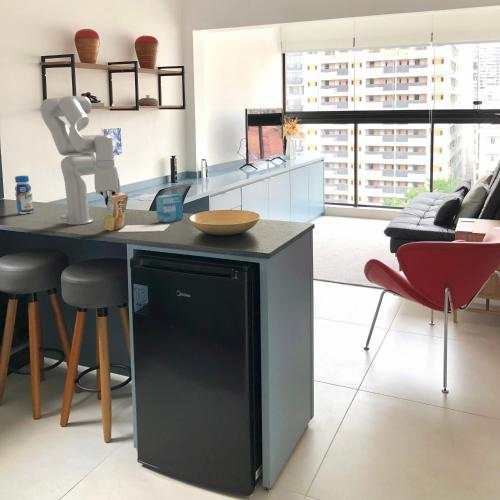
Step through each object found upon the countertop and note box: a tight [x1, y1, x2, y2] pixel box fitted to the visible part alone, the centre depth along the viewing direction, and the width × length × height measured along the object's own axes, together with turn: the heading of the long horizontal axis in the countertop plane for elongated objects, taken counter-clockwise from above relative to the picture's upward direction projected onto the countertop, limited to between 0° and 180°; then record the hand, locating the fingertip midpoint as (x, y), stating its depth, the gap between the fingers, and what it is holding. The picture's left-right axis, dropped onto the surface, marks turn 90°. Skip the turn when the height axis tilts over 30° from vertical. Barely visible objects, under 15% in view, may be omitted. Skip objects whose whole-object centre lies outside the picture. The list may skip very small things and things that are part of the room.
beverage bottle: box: [14, 175, 35, 213], centre depth 316 cm, size 8×8×20 cm
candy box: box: [103, 192, 129, 232], centre depth 260 cm, size 9×4×15 cm, turn 155°
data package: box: [155, 193, 184, 223], centre depth 278 cm, size 12×4×12 cm, turn 135°
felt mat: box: [117, 223, 171, 233], centre depth 261 cm, size 20×15×1 cm
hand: (109, 206), depth 260 cm, fingers closed
